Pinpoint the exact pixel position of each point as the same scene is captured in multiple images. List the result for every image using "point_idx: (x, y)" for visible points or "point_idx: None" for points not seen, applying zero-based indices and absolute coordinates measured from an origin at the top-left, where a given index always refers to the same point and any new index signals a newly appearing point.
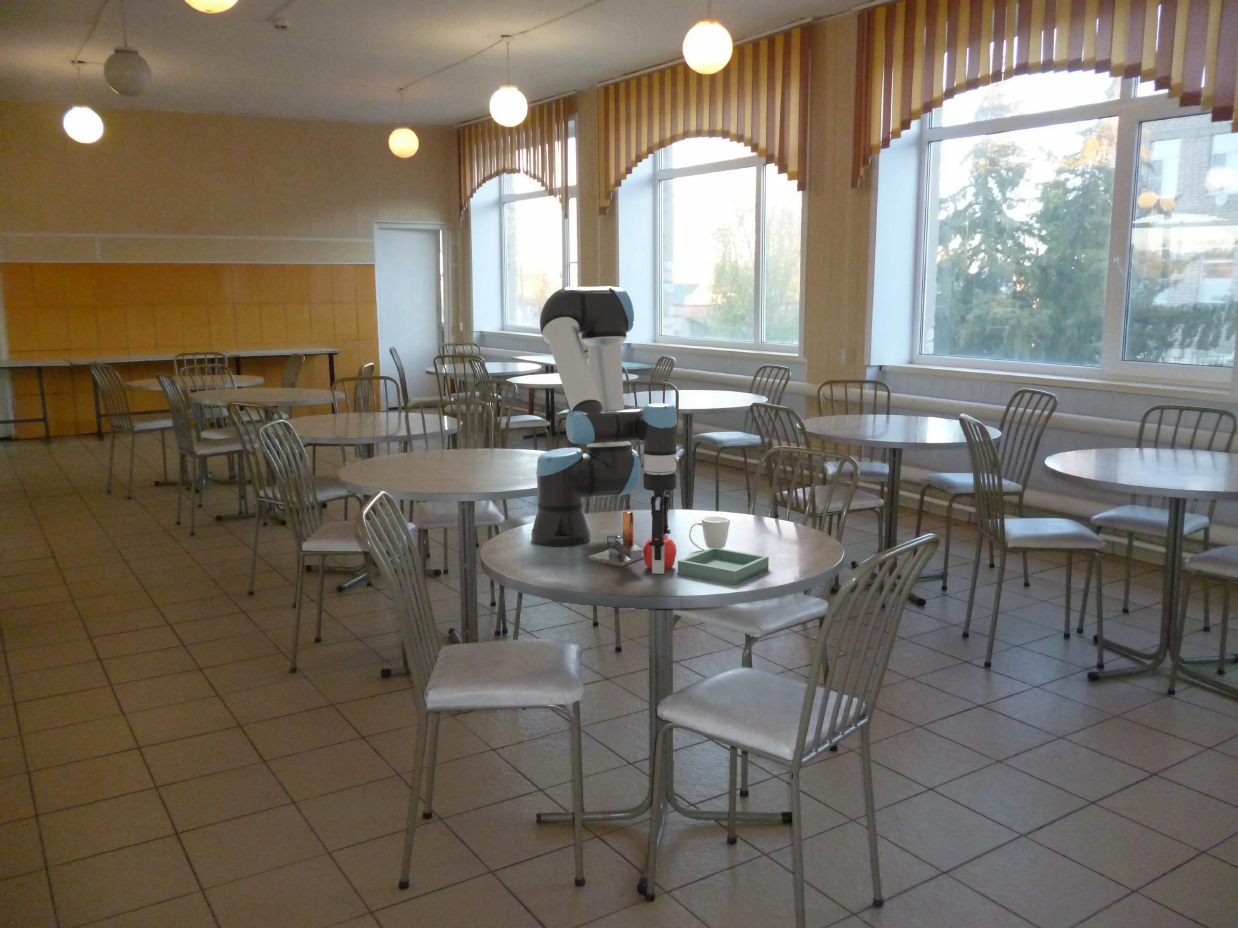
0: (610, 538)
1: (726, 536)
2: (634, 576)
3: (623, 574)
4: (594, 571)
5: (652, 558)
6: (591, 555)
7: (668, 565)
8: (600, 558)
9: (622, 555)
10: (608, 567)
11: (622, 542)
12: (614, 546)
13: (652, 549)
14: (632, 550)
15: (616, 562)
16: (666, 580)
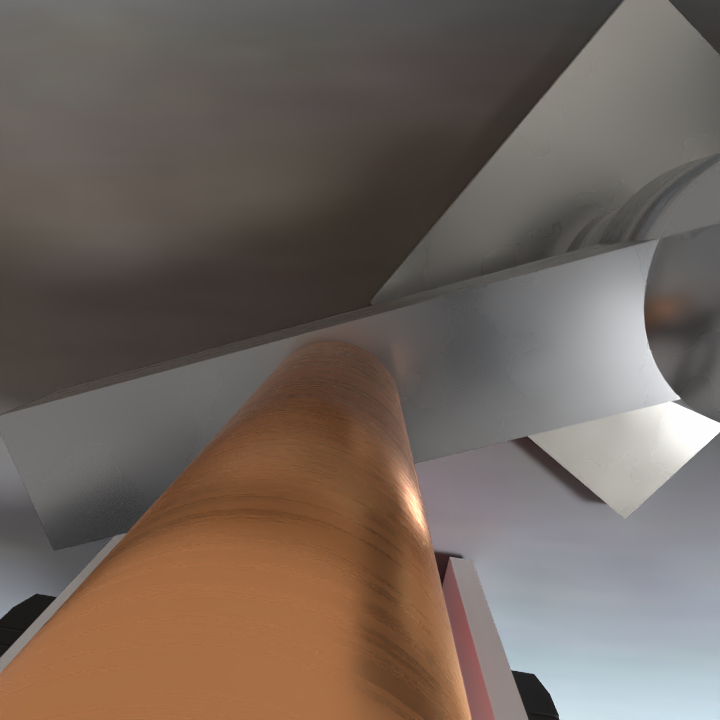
0: (699, 176)
1: None
2: (87, 378)
3: (137, 300)
4: (222, 52)
5: (74, 582)
6: (670, 12)
7: None
8: (542, 108)
9: None
10: (342, 186)
11: (415, 337)
12: (600, 241)
13: (4, 655)
14: (2, 436)
15: (407, 257)
16: (5, 574)
